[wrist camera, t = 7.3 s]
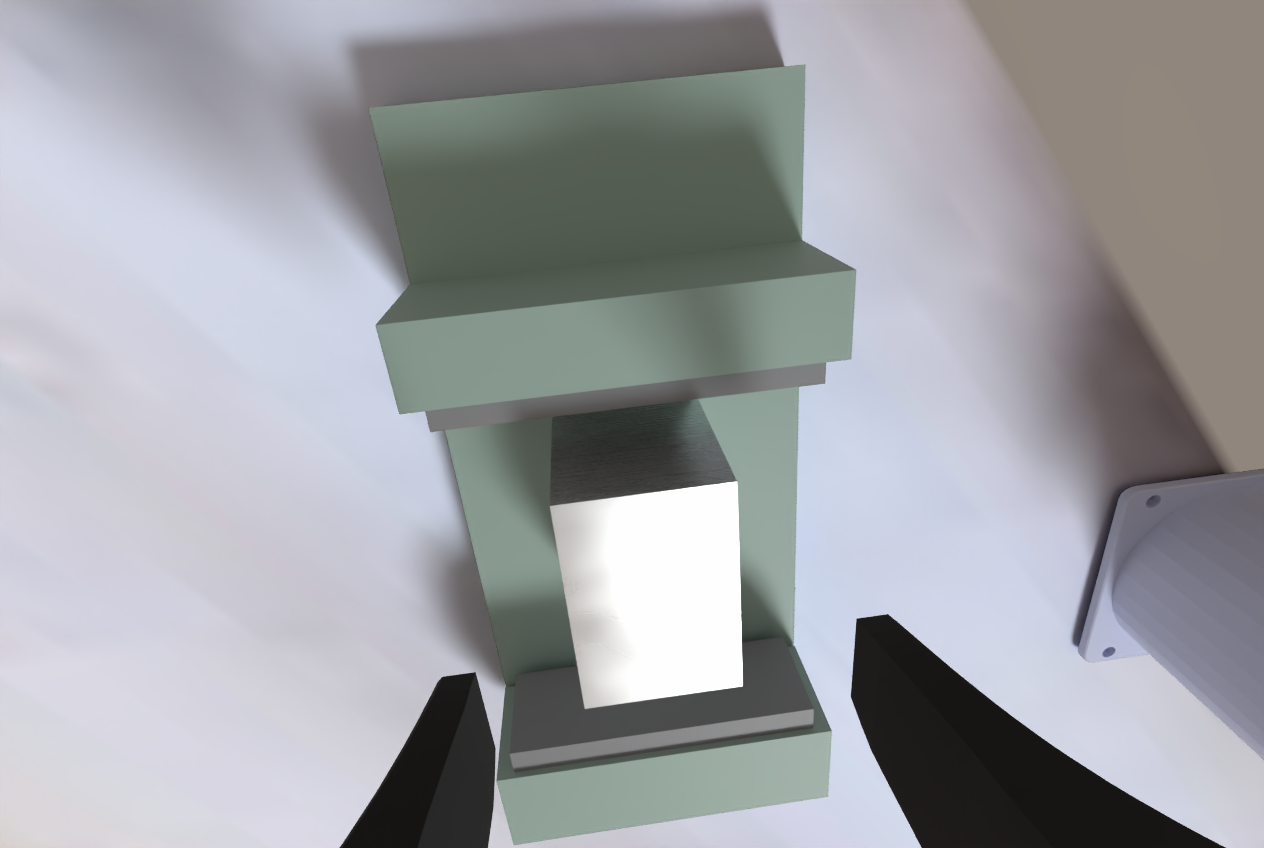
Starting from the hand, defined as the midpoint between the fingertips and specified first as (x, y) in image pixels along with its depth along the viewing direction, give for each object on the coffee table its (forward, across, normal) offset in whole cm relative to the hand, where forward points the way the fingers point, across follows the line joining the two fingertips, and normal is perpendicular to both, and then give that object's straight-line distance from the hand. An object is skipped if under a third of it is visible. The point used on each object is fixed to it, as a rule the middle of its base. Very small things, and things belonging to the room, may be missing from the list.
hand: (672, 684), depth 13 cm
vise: (+9, 0, 0) cm, 9 cm away
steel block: (+8, 0, 0) cm, 8 cm away
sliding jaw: (+8, 0, +9) cm, 12 cm away
